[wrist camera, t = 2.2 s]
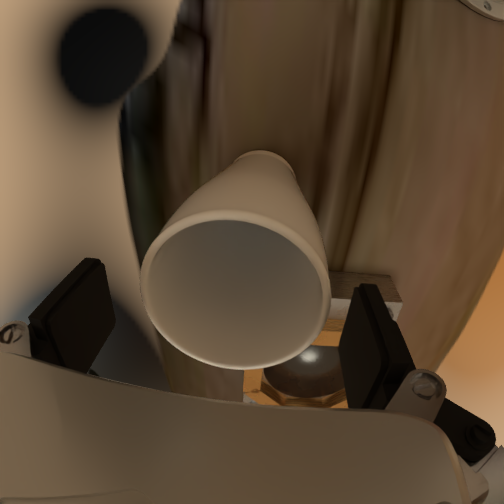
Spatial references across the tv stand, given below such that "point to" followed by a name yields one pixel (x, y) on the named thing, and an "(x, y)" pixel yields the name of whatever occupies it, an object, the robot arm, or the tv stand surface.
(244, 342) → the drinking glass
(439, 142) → the tv stand surface
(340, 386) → the octagon ring knob plate
